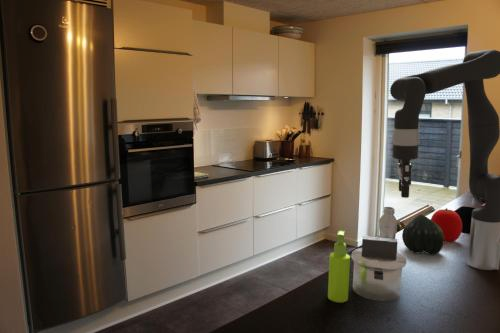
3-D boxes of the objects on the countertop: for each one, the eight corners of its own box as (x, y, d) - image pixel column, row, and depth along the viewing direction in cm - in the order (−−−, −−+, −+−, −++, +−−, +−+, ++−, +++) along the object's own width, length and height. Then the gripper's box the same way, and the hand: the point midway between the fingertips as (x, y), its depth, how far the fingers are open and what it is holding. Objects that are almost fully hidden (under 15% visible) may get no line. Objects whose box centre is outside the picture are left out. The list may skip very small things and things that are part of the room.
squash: (439, 249, 149) (444, 212, 156) (396, 243, 157) (403, 208, 164) (442, 264, 159) (447, 230, 166) (402, 258, 167) (408, 225, 174)
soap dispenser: (349, 293, 125) (352, 229, 122) (346, 303, 119) (350, 236, 116) (329, 290, 127) (332, 227, 124) (326, 300, 121) (329, 234, 118)
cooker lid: (403, 253, 132) (405, 233, 131) (408, 272, 117) (410, 250, 116) (352, 248, 136) (353, 228, 135) (350, 266, 121) (351, 244, 120)
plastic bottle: (396, 265, 148) (400, 210, 145) (377, 263, 149) (380, 209, 146) (394, 258, 154) (397, 206, 151) (375, 257, 155) (378, 205, 152)
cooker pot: (397, 279, 136) (399, 250, 134) (402, 309, 116) (405, 275, 115) (353, 274, 140) (355, 245, 138) (351, 302, 120) (353, 269, 118)
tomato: (424, 240, 175) (427, 207, 173) (432, 234, 184) (435, 203, 182) (456, 247, 167) (459, 213, 165) (463, 240, 176) (467, 208, 174)
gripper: (421, 146, 121) (419, 200, 123) (415, 140, 134) (413, 189, 137) (394, 145, 123) (392, 199, 125) (391, 140, 136) (389, 188, 139)
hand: (403, 194), depth 131 cm, fingers open, 8 cm apart
